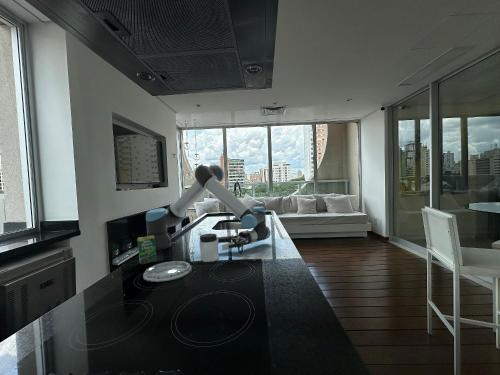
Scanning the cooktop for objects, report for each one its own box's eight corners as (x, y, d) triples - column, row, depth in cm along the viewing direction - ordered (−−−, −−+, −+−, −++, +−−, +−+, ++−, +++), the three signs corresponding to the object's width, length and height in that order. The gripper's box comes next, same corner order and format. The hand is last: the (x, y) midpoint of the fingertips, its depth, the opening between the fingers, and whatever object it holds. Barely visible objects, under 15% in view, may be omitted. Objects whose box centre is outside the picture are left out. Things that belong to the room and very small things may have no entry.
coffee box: (139, 265, 125) (137, 238, 125) (139, 263, 128) (137, 237, 127) (156, 261, 129) (154, 235, 128) (156, 260, 131) (154, 234, 131)
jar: (208, 255, 133) (207, 233, 132) (221, 257, 129) (220, 233, 129) (197, 261, 125) (195, 236, 124) (211, 263, 121) (209, 237, 121)
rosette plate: (137, 273, 113) (136, 269, 113) (179, 262, 126) (179, 257, 126) (153, 286, 97) (152, 281, 97) (199, 271, 110) (199, 266, 110)
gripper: (263, 247, 133) (230, 257, 119) (234, 240, 151) (202, 248, 138) (262, 233, 132) (228, 241, 118) (233, 228, 151) (201, 235, 137)
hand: (214, 245), depth 128 cm, fingers open, 13 cm apart
